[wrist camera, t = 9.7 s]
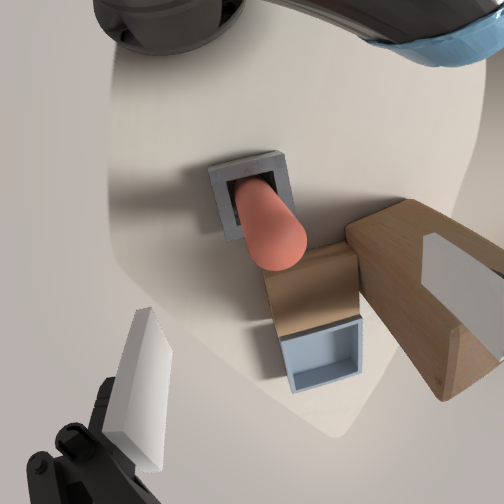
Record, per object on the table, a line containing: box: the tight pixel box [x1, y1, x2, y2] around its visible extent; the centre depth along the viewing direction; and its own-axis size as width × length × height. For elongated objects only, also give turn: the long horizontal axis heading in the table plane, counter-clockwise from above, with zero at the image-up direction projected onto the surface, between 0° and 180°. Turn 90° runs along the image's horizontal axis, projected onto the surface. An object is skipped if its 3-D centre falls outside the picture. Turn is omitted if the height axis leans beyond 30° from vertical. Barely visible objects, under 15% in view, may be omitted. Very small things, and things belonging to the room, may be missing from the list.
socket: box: [208, 151, 296, 242], centre depth 30 cm, size 7×7×3 cm
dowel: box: [233, 174, 307, 271], centre depth 25 cm, size 4×4×14 cm
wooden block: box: [345, 199, 504, 402], centre depth 27 cm, size 10×10×20 cm
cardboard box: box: [261, 241, 360, 337], centre depth 35 cm, size 8×10×4 cm
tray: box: [278, 314, 363, 394], centre depth 39 cm, size 10×10×4 cm
